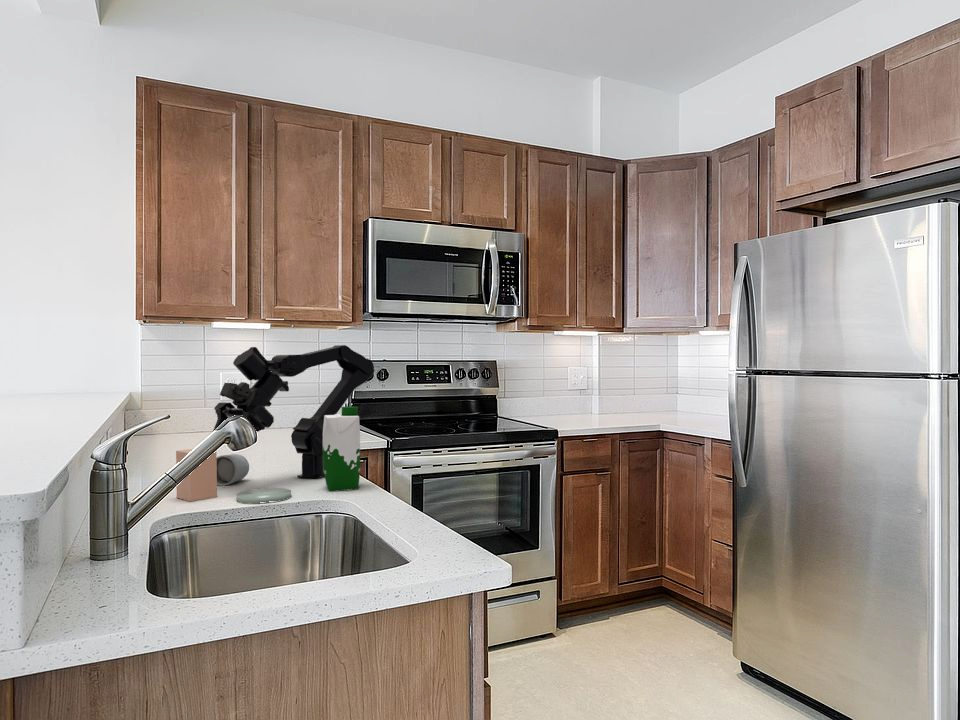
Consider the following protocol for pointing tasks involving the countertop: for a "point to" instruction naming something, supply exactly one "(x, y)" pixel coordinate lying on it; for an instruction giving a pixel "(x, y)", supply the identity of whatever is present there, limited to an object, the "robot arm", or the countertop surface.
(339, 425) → the milk carton
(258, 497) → the dish
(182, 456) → the pinkish brown brick
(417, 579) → the countertop surface
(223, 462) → the ceramic mug
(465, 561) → the countertop surface
